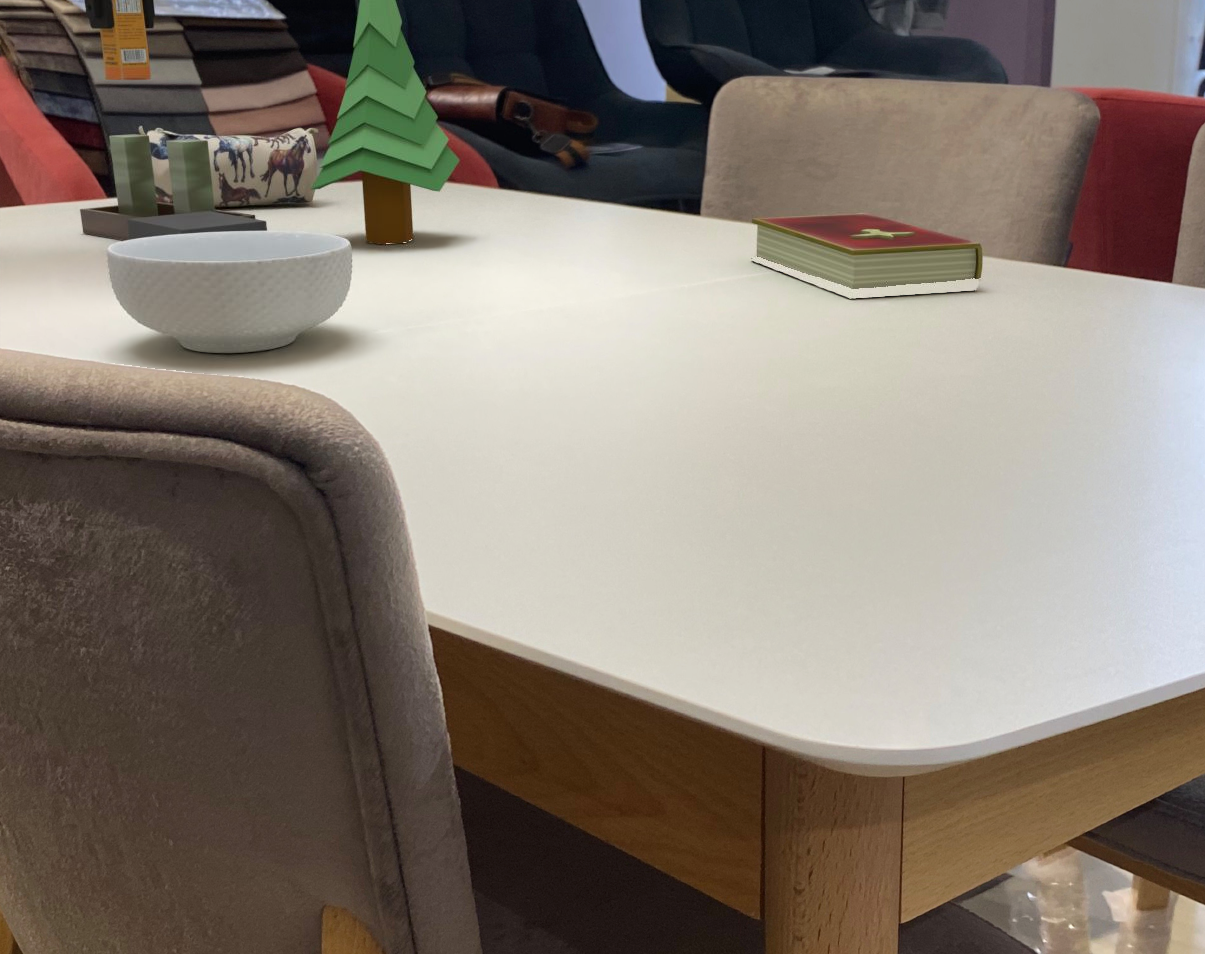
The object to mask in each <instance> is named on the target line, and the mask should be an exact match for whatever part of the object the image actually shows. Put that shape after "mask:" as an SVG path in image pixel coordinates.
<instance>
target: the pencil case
mask: <svg viewBox="0 0 1205 954" xmlns="http://www.w3.org/2000/svg"><path fill="white" fill-rule="evenodd" d="M138 132H139V135H148V136H149V140H150V149H151V157H152V165H153V174H154V182H155V191H156V199H157V202H163V203H170V204H173V196H172V187H171V178H170V170H169V161H168V152H167V143H166V141H172V140H185V139H196V140H207V141H208V149H209V158H210V168H211V178H212V187H213V197H214V206H215V208H231V207H232V208H234V207H248V206H252V205H254V206H255V205H257V206H267V205H277V204H288V203H290V204H307V203H312V202H313V200H314V196H315V193H316V189H311V187H312V186H313V184H314V182H315V180H316V179H317V177H318V157H317V150H316V144H315V140H314V135H315V134H317V133H319V129H318V128H314V127H309V128H308V129H306V130H305V129H304V128H302V127H297V128H294V129H291V130H289V131H287V132H285V133H282V134H277V135H273V136H272V135H271V136H256V135H242V134H241V135H211V134H179V133H175V132H172V131H168V130H164V129H163V128H161V127H156V128H155V129H154V130H148V131H147V133H145V131H144V128H143V126H142V125H140V126H138ZM310 189H311V190H310Z"/></svg>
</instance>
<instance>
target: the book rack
mask: <svg viewBox="0 0 1205 954" xmlns="http://www.w3.org/2000/svg"><path fill="white" fill-rule="evenodd" d="M108 138H109V144H110V145H109V147H110V152H111V153H110V154H111V160H112V168H113V177H114V184H115V193H116V200H117V205H116V204H115V205H107V206H106V205H105V206H97V207H88V208H80V209H79V213H80V220H81V229H82V233H83V234H84V235H90V236H94V237H95V236H97V237H102V238H107V239H112V240H113V239H114V240H119V241H126V240H130V239H129V232H128V224H127V219H133V218H143V217H153V216H163V215H173V214H183V213H194V212H204V211H212V212H217V213H223V214H229V215H235V216H240V217H246V218H252V219H256V214H251V213H243V212H235V211H230V210H229V211H228V210H221V209H216V207H215V206H214V197H213V187H212V178H211V168H210V158H209V149H208V141H207V140H196V139H185V140H172V141H166V143H167V152H168V161H169V170H170V178H171V187H172V196H173V204H170V203H163V202H157V199H156V191H155V182H154V174H153V165H152V157H151V149H150V140H149V136H148V135H147V134H146V135H141V134H135V133H132V134H119V135H118V134H117V135H116V134H115V135H109V137H108Z"/></svg>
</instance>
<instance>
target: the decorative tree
mask: <svg viewBox="0 0 1205 954" xmlns="http://www.w3.org/2000/svg"><path fill="white" fill-rule="evenodd" d="M358 4H359V5H358V10H357V18H356V25H355V33H354V39H353V46H352V48H354V49H353V53H352V58H351V63H350V67H349V70H348V75H347V78H346V83H345V88H344V89H345V92H344V94H343V98H342V101H341V104H340V107H339V110H338V113H337V116H336V119H337V120H336V124H335V126H334V128H333V130H332V133H331V136H330V138H329V140H328V143H327V144H328V145H329V146H328V149H327V151H326V153H325V155H324V156H323V159H322V160H321V163H320V165H319V167H318V168H319V169H321V170H320V172H319V174H317V179H316V180H315V182H314V184H313V186H312V187H311V189H315V190H322V188H325V187H327V186H330V185H332V184H334V183H336V182H338V181H340V180H342V179H345V178H347V177H350V176H352V175H354V174H356V173H358V172H361V185H362V198H363V210H364V211H363V212H364V228H365V243H366V242H372V243H371V244H374V243H380V244H379V245H381V244H386V243H403V242H408V241H409V240H411V239H413V240H414V224H413V207H412V206H413V205H412V189H411V188H412V187H411V186H415V187H418V188H422V189H426V190H429V191H432V192H441V191H442V189H443V188H444V185H446V183H447V181H448V179H449V178H450V177H451V175H452V173H453V171H454V170H455V169H456V167H457V165H458V164H459V162H460V161H461V159H460V158H459V157H458V156H457V155H456V154H455V153H454V151H453V150H451V148H450V147H449V146H448V145H447V144H448V142H449V140H450V138H448V136H447V135H446V134H445V132H444V131H443V130H442V129H441V127H440V125H438V123H437V119H438V118H439V116H438V114H437V113H436V112H435V110H434V109H433V107H432V106H431V104H430V102H429V101H428V99H427V98H426V94H427V90H426V89H425V87H424V85H423V83H422V81H421V79H420V77H419V76H418V74H417V71H416V70H415V67H414V65H415V59H414V58H413V55H412V53H411V50H410V48H409V46H408V44H407V41H406V39H405V37H404V34H403V32H402V28H401V27H402V24H403V21H402V17H401V14H400V10H399V8H398V4H397V1H396V0H359V3H358ZM311 189H310V190H311ZM408 243H409V242H408ZM386 245H387V244H386Z"/></svg>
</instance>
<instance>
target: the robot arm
mask: <svg viewBox="0 0 1205 954" xmlns="http://www.w3.org/2000/svg"><path fill="white" fill-rule="evenodd" d="M142 4H143V13H144V21H145V29H154V26H155V22H154V19H155V17H156V16H155V15H156V12H155V11H156V10H155V2H154V0H142ZM84 7H85V15H86V17H87V18H88V20H89V25H90V28H91V29H95V30H96V29H98V30H100V29H112V28H113V27H114V17H113V9H112V1H111V0H84Z"/></svg>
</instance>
